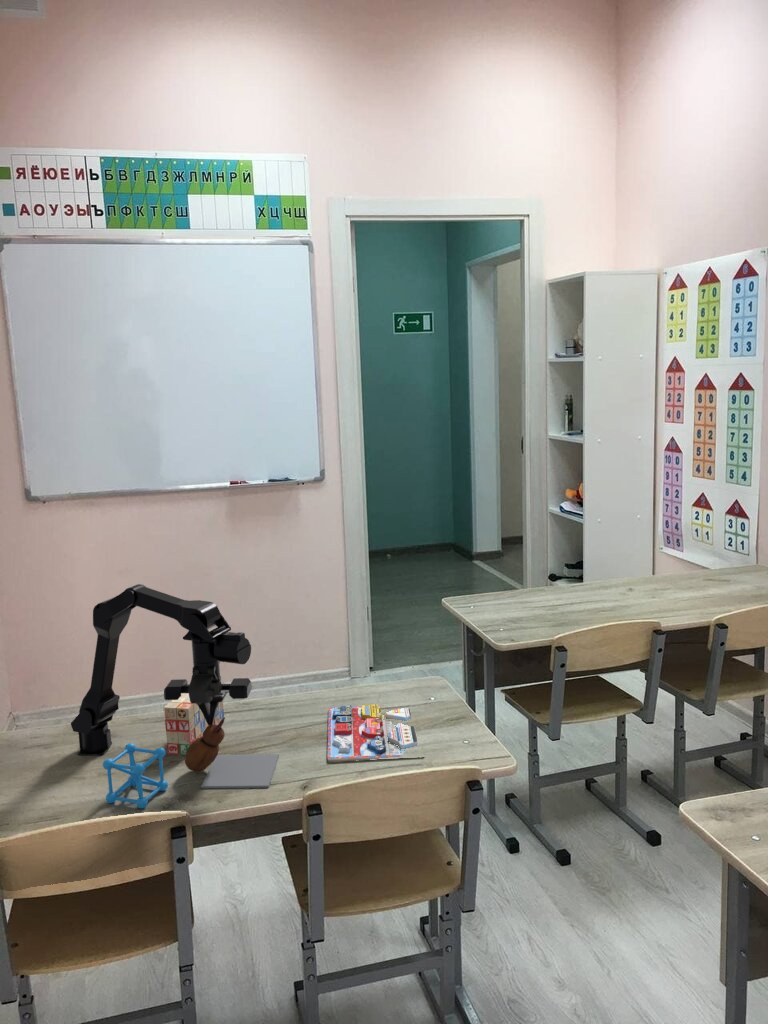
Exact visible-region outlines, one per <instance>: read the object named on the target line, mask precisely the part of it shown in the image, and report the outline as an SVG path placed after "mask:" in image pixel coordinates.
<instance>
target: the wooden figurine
mask: <svg viewBox="0 0 768 1024" xmlns="http://www.w3.org/2000/svg"><path fill="white" fill-rule="evenodd" d="M225 719H226V717H225V716H224V718H223V719H222V720H221V721H220V723H219V724H218V725H215V724H212V725H209V726H208V727H207V728H206V729H205V730H204V732H203V736H202V737H200V738H197V739H196V740H195V741H193V742H192V743H191V744H190V746H189V747H188V749H187V752H186V755H184V764H185V765H186V766H185V767H186V768H188V769H189V770H190V771H191V772H195V773H201V772H203V771H204V770H206V768H208V767H209V766H211V765H212V763H213V761H214V760H215V758H216V757H217V755H219V750H220V746H219V745H220V744H221V743H222V741H223V740H224V739H225V733H226V732H225V731H224V729H223V728H222V726H223V725H224V723H225Z"/></svg>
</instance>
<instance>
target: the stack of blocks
mask: <svg viewBox="0 0 768 1024" xmlns="http://www.w3.org/2000/svg"><path fill="white" fill-rule="evenodd" d="M163 708H164V709H163V710H164V724H165V734H166V747H167V755H174V756H175V755H176V756H177V755H178V756H179V755H180V756H185V755H186V752H187V749H188V747H189V746H190V744H191V743H192V742H193V741H195V740H196V739H197V738H200V737H202V736H203V732H204V730H205V729H206V728H207V727H208V726H209V725H208V724H207V722H206V719H205V717H204V715H203V713H202V711H201V709H200V708H199V706H198V705H197V704H195V703H191V702H190V698H189V693H181V697H180V698H179V699H178V700H170V702H169V703H167V704H166V705H165V706H164V707H163ZM224 710H225V709H224V700H223V701H222V702H219V705H218V708H217V711H216V715H215V718H214V722H213V724H215V725H218V724H219V723H220V721H221V720H222V719H223V718H224V717H225V711H224Z"/></svg>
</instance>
